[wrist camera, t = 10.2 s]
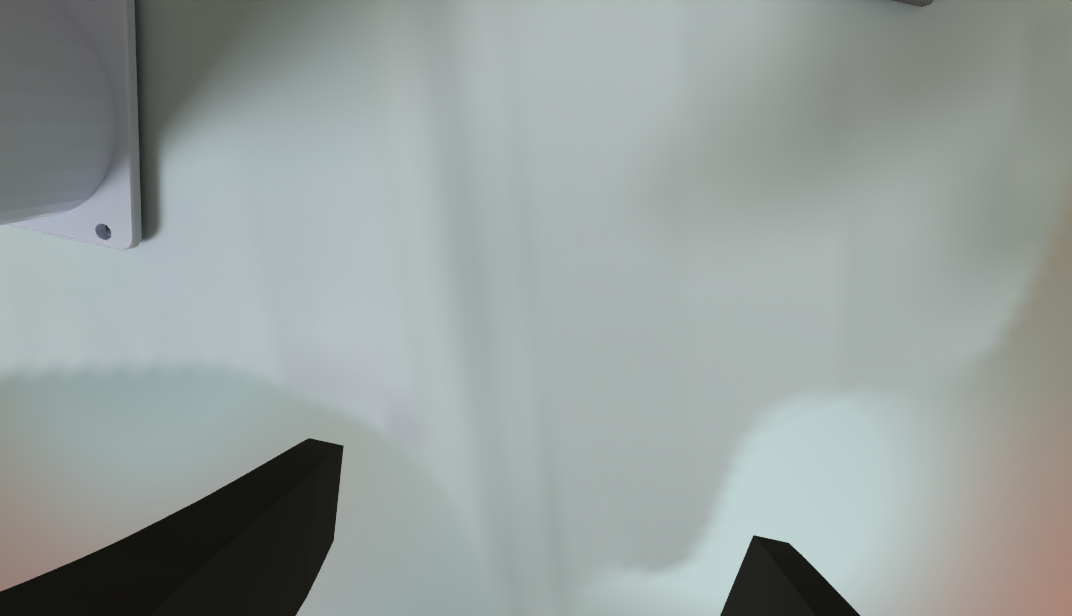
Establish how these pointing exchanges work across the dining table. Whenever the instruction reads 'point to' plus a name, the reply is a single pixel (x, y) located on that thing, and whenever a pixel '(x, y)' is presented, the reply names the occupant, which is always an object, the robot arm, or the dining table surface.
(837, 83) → the dining table surface
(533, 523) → the dining table surface
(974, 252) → the dining table surface
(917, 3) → the mat
